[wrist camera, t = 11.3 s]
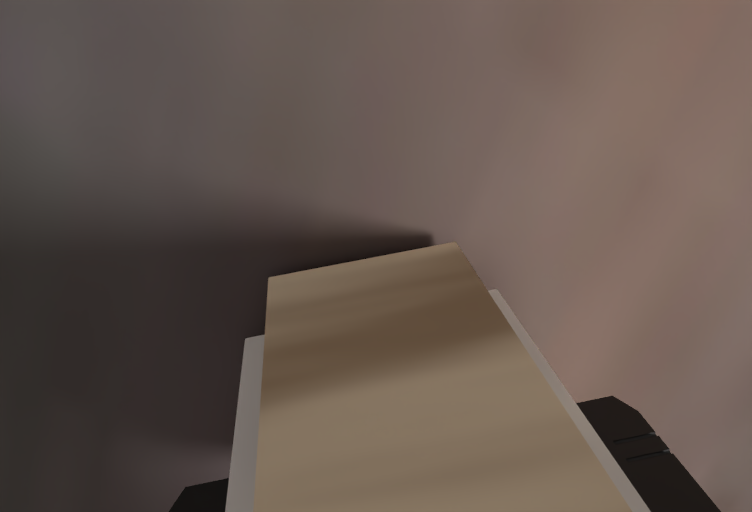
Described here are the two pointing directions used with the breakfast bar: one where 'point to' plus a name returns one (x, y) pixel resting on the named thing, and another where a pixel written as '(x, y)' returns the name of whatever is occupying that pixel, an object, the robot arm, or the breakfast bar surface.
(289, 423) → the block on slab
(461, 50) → the breakfast bar surface
